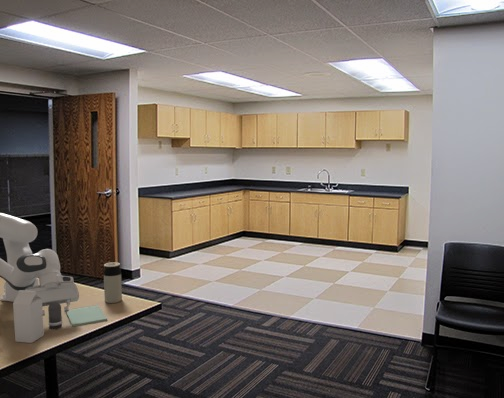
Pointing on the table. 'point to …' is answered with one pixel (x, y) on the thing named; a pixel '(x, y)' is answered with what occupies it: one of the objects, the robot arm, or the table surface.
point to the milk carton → (28, 317)
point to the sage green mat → (86, 315)
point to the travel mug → (112, 282)
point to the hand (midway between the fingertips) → (54, 313)
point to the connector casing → (55, 316)
